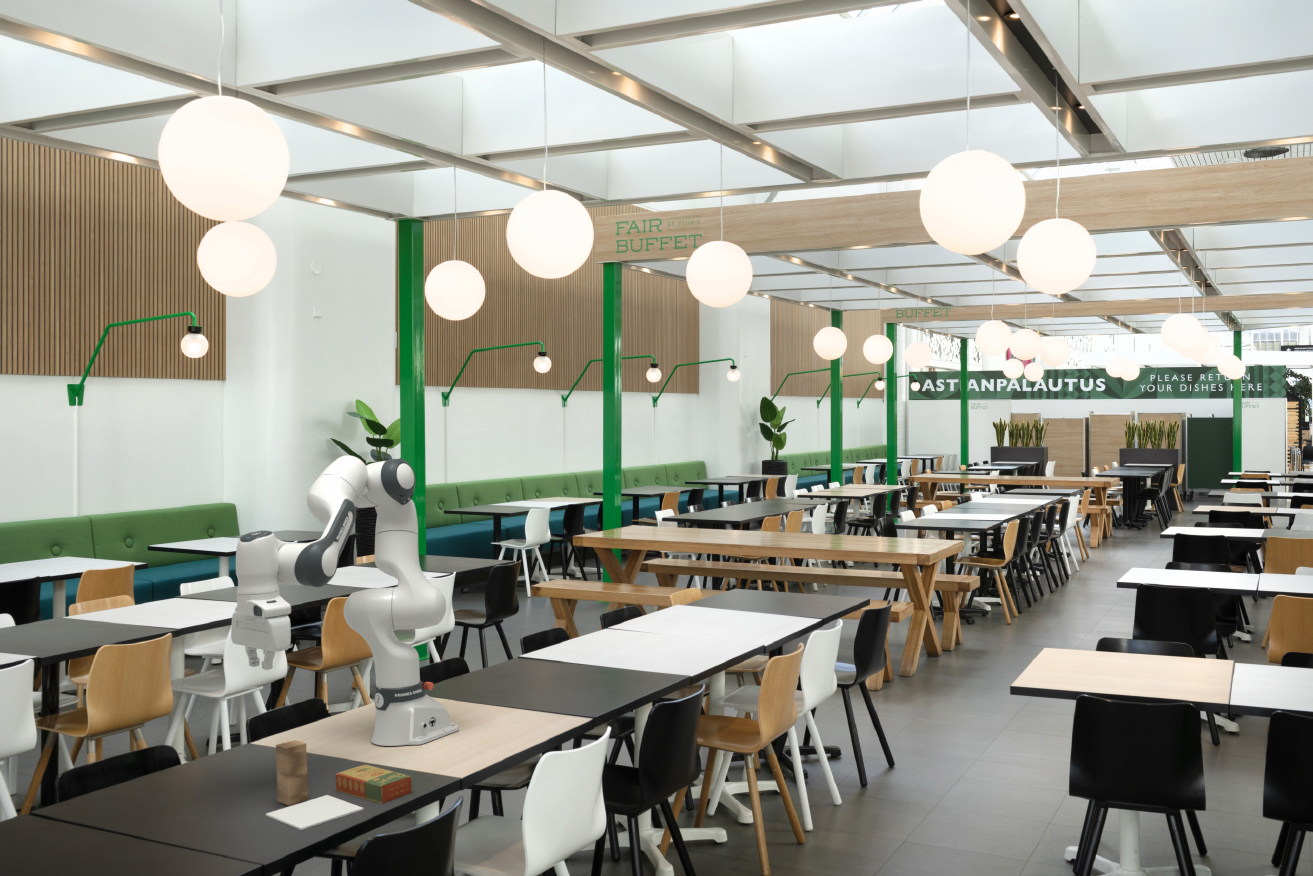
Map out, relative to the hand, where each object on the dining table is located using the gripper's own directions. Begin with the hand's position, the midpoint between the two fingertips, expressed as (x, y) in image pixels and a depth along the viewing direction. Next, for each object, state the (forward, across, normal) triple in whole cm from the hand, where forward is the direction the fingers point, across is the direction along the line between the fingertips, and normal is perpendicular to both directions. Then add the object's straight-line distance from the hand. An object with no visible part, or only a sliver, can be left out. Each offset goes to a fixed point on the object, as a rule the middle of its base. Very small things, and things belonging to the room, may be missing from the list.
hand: (260, 667), depth 229 cm
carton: (+28, +21, +14) cm, 37 cm away
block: (+27, +12, 0) cm, 30 cm away
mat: (+27, +22, -1) cm, 35 cm away
